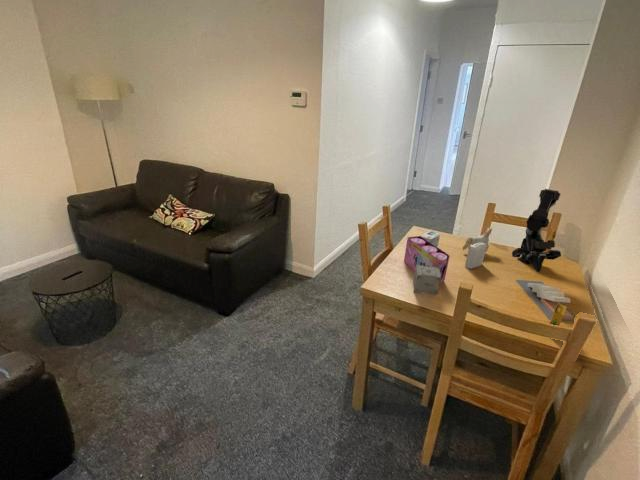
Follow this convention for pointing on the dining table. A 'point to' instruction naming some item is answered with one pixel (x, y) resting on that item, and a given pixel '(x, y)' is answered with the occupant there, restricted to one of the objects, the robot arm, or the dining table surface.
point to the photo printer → (475, 255)
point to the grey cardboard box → (426, 279)
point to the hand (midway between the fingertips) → (538, 272)
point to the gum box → (425, 255)
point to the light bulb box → (431, 237)
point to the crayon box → (558, 314)
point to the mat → (537, 299)
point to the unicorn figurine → (479, 239)
